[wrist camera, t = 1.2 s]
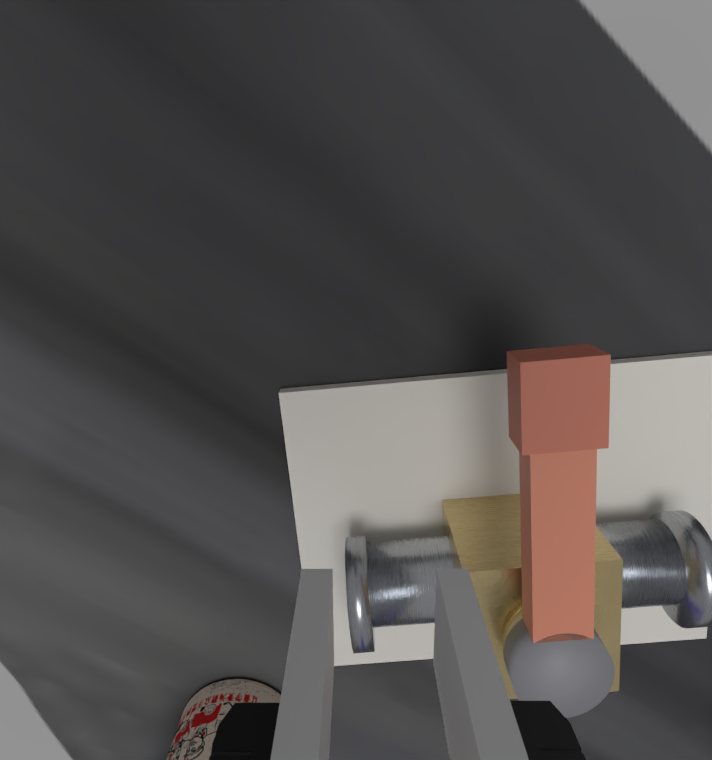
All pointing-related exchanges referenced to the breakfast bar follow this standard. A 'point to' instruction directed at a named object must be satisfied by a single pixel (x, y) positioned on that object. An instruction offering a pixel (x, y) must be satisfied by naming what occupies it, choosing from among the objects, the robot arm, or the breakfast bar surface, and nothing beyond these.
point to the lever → (558, 524)
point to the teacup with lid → (213, 715)
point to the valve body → (504, 577)
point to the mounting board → (482, 469)
